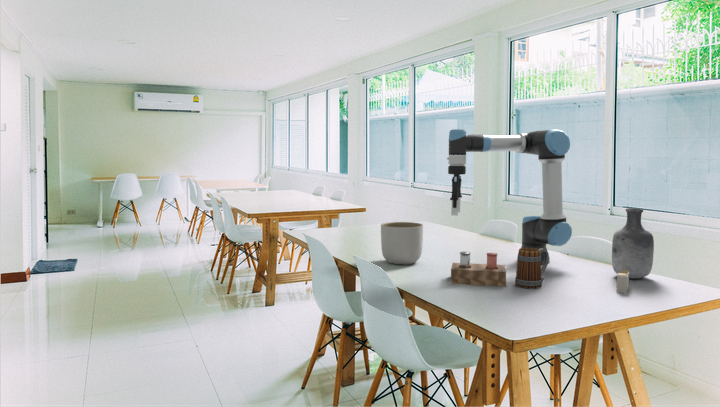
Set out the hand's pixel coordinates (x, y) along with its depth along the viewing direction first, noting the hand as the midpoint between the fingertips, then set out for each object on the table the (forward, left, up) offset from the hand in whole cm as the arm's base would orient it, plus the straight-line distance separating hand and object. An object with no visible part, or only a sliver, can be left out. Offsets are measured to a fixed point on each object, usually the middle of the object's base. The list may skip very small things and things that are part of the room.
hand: (455, 213), depth 231 cm
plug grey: (-5, +9, -24) cm, 26 cm away
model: (-66, +10, -28) cm, 73 cm away
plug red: (-16, +9, -24) cm, 30 cm away
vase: (-75, -12, -28) cm, 81 cm away
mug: (-32, +11, -28) cm, 44 cm away
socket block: (-10, +9, -27) cm, 30 cm away
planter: (+27, -22, -28) cm, 45 cm away
